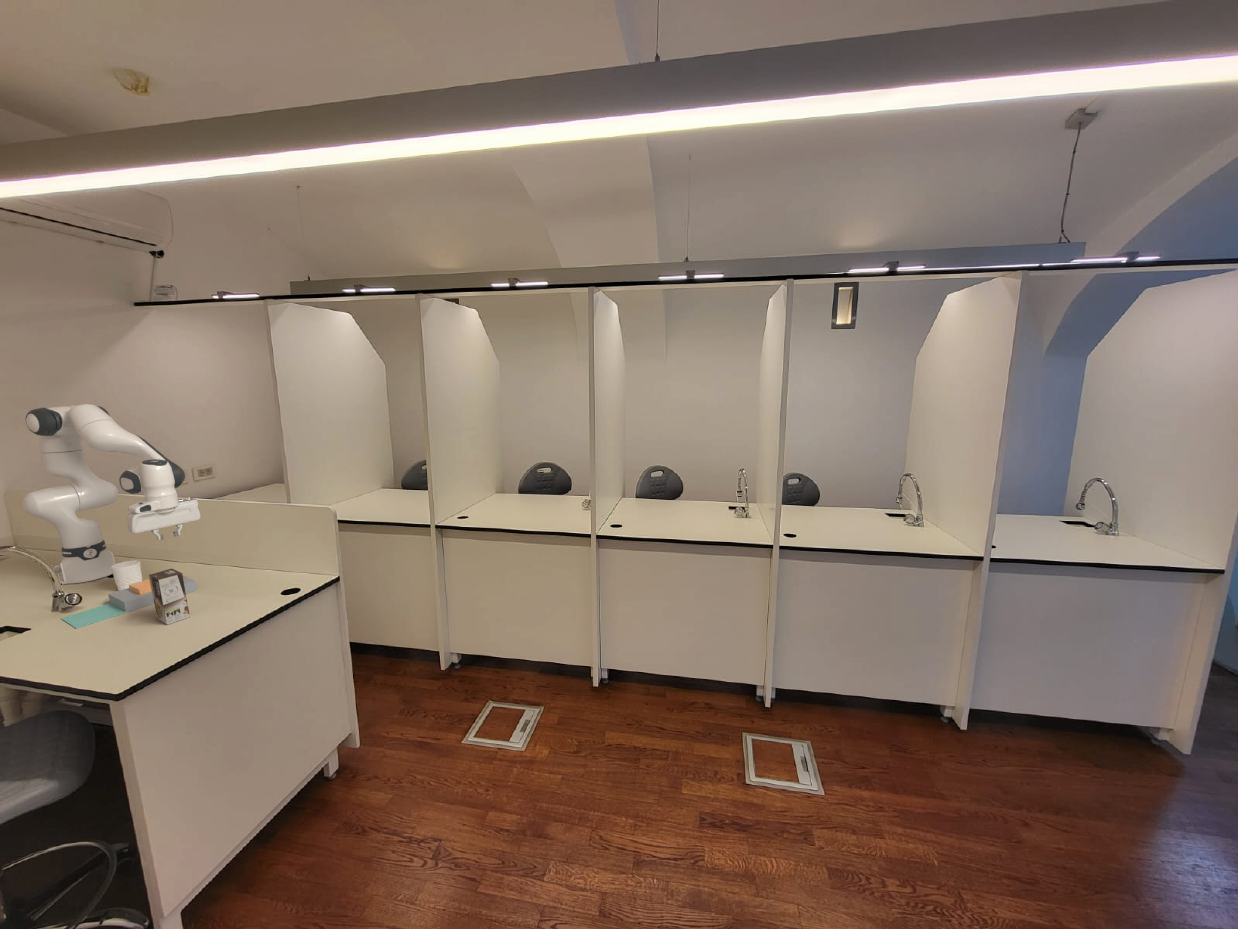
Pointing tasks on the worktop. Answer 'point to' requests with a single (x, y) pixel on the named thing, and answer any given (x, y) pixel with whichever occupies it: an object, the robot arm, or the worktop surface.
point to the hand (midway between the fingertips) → (168, 537)
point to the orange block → (141, 587)
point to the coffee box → (169, 596)
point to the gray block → (141, 597)
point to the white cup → (126, 573)
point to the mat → (93, 615)
